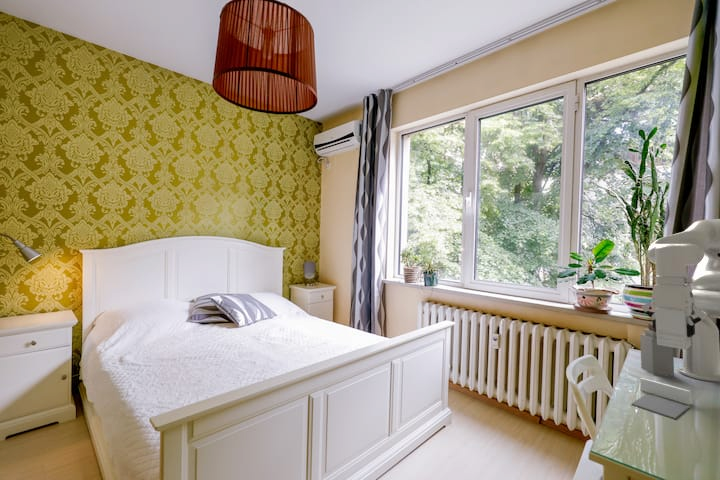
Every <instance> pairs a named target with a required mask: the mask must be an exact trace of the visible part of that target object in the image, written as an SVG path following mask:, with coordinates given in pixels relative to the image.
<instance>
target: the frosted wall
mask: <svg viewBox="0 0 720 480" xmlns="http://www.w3.org/2000/svg"><path fill="white" fill-rule="evenodd" d="M639 382H640V388H639V389H640V391H642V392H645V393H647V394H650V395H654V396H657V397H661V398H664V399H667V400H671V401H674V402H677V403H681V404H684V405H687V406H690V405H691V404H692V393H691V392H692V391H691V390H689V389H686V388H682V387H678V386H674V385H671V384H667V383H663V382H659V381H655V380H652V379H647V378H644V377H640V379H639Z"/></svg>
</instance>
